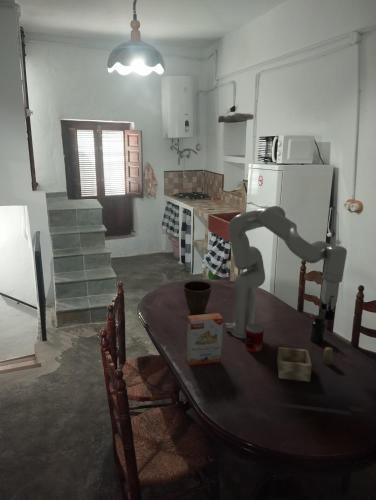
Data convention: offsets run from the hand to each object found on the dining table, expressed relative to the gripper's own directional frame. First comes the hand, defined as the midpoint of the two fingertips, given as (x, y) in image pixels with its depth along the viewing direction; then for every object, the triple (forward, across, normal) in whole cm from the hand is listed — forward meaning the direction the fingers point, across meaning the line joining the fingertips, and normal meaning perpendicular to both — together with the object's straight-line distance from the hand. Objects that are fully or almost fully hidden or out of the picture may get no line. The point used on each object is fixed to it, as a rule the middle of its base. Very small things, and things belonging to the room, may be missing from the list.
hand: (326, 314), depth 161 cm
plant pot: (+24, -36, -60) cm, 74 cm away
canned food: (+23, -3, -28) cm, 37 cm away
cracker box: (+24, +11, -49) cm, 56 cm away
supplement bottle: (+23, -19, +1) cm, 30 cm away
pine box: (+22, +12, -12) cm, 28 cm away
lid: (+23, +3, +3) cm, 23 cm away
